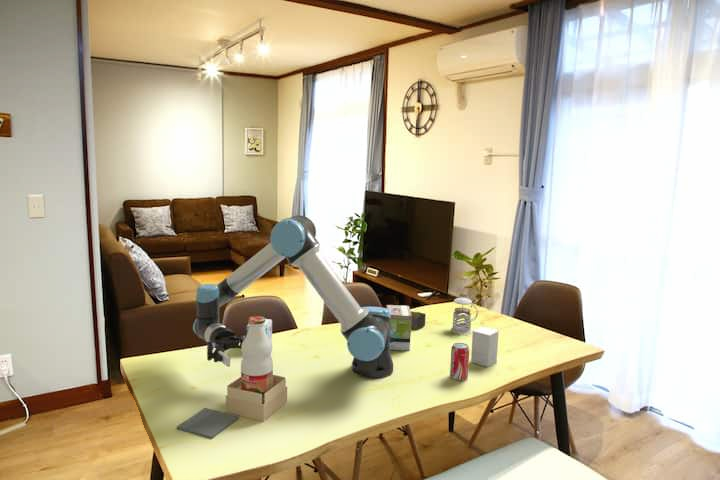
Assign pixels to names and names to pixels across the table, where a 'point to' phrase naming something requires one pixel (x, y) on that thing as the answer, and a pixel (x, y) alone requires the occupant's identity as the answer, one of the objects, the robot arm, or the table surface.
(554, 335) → the table surface
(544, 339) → the table surface
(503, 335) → the table surface
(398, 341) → the tea box
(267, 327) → the light bulb box
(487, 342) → the supplement box
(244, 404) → the carton
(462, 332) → the french press
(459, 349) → the soda can
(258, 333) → the fruit juice
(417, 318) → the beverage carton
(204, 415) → the coaster
